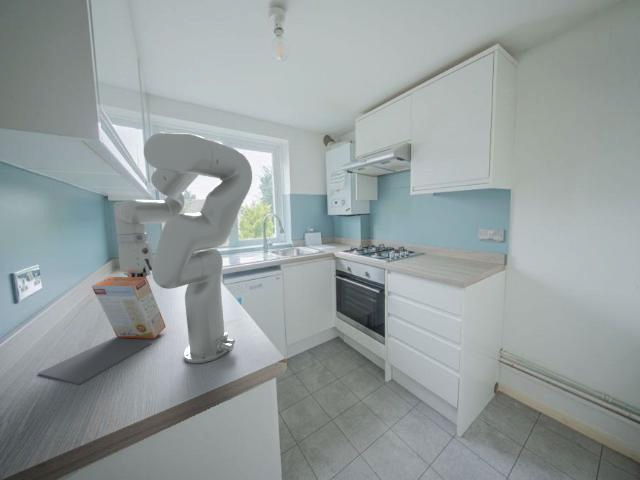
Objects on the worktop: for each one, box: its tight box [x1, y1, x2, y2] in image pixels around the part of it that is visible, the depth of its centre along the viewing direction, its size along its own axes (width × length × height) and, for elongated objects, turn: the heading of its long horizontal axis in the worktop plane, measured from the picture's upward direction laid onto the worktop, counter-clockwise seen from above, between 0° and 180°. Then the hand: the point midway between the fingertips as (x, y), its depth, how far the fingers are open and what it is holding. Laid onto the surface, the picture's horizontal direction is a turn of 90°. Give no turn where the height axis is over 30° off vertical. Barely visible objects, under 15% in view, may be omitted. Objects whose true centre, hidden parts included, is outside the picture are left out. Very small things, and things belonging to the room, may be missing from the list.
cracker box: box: [91, 276, 166, 340], centre depth 74 cm, size 14×6×21 cm, turn 84°
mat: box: [37, 336, 153, 385], centre depth 66 cm, size 16×18×1 cm
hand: (139, 292), depth 77 cm, fingers closed
